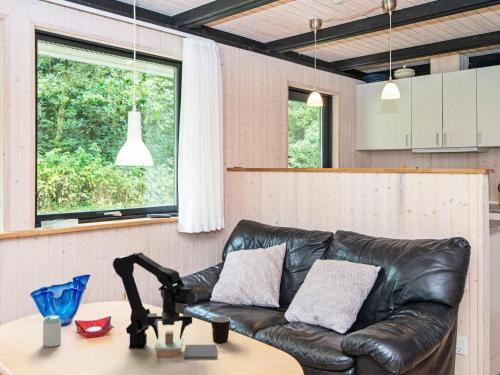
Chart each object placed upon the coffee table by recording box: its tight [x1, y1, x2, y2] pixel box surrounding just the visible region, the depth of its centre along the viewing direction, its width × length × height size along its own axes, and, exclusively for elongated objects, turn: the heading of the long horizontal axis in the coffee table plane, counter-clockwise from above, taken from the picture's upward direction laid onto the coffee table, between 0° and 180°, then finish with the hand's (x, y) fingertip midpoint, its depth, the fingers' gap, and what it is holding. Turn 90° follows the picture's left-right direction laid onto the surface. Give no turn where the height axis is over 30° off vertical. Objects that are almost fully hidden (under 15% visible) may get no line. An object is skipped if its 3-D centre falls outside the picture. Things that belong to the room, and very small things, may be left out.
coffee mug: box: [210, 315, 231, 345], centre depth 214 cm, size 12×9×10 cm
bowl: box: [155, 350, 182, 359], centre depth 197 cm, size 10×10×4 cm
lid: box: [153, 330, 184, 351], centre depth 197 cm, size 11×11×5 cm
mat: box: [183, 344, 218, 360], centre depth 198 cm, size 13×13×1 cm
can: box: [42, 314, 62, 348], centre depth 203 cm, size 7×7×12 cm
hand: (169, 339), depth 197 cm, fingers open, 9 cm apart
